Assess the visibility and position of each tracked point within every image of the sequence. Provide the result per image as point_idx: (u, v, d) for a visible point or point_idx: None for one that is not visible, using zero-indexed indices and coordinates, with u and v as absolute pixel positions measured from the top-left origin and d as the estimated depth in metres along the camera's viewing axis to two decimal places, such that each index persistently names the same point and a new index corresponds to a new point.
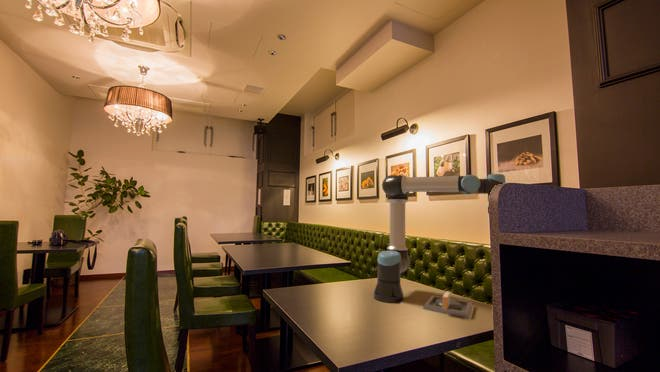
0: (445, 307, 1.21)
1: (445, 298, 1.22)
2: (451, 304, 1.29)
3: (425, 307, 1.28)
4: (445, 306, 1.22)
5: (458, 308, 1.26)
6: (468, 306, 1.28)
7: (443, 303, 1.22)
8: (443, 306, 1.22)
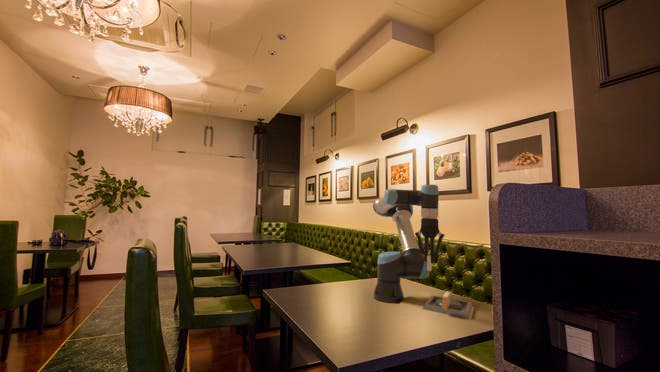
0: (445, 307, 1.21)
1: (445, 298, 1.22)
2: (451, 304, 1.29)
3: (425, 307, 1.28)
4: (445, 306, 1.22)
5: (458, 308, 1.26)
6: (468, 306, 1.28)
7: (443, 303, 1.22)
8: (443, 306, 1.22)
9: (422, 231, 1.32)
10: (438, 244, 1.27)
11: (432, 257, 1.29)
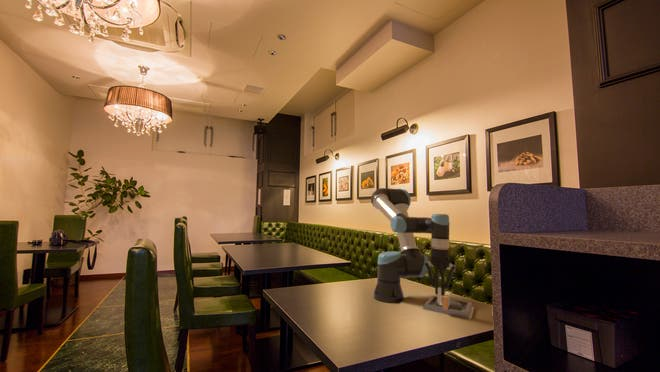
0: (446, 307, 1.21)
1: (446, 298, 1.22)
2: (451, 304, 1.29)
3: (425, 307, 1.28)
4: (446, 306, 1.21)
5: (458, 308, 1.26)
6: (468, 306, 1.28)
7: (444, 303, 1.22)
8: (444, 306, 1.22)
9: (432, 262, 1.28)
10: (449, 276, 1.24)
11: (443, 289, 1.25)
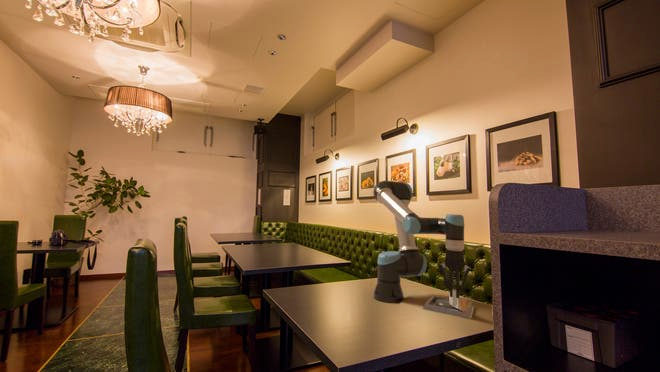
0: (465, 309, 1.20)
1: (465, 300, 1.21)
2: None
3: (425, 307, 1.28)
4: (465, 308, 1.20)
5: None
6: (468, 306, 1.28)
7: (463, 305, 1.20)
8: (463, 308, 1.20)
9: (447, 263, 1.25)
10: (464, 278, 1.21)
11: (457, 292, 1.22)
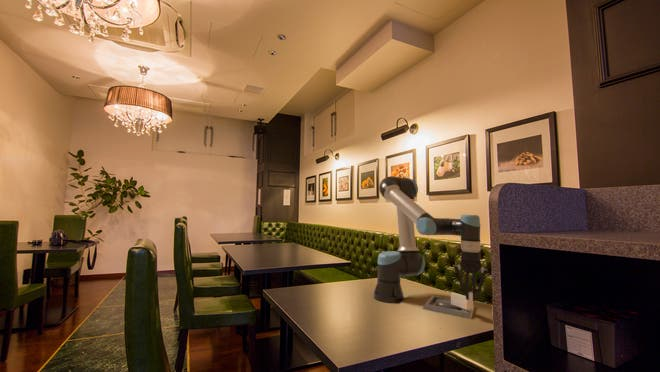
0: None
1: None
2: None
3: (425, 307, 1.28)
4: None
5: None
6: None
7: None
8: None
9: (462, 265, 1.22)
10: (481, 280, 1.18)
11: (474, 294, 1.19)
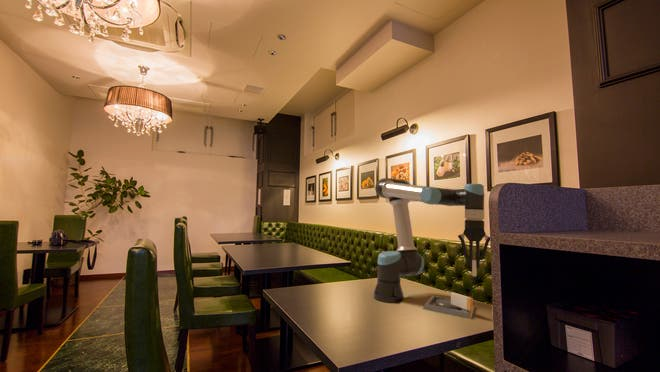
0: (471, 308, 1.22)
1: (471, 299, 1.22)
2: None
3: (425, 307, 1.28)
4: (471, 307, 1.22)
5: None
6: None
7: (470, 305, 1.21)
8: (470, 307, 1.21)
9: (466, 234, 1.23)
10: (485, 248, 1.19)
11: (478, 262, 1.20)
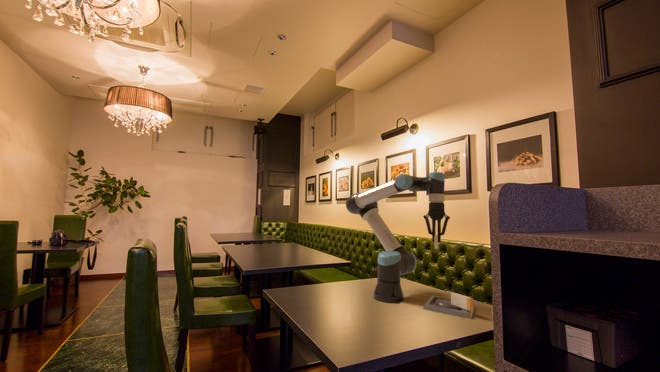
0: (471, 308, 1.22)
1: (471, 299, 1.22)
2: None
3: (425, 307, 1.28)
4: (471, 307, 1.22)
5: None
6: None
7: (470, 305, 1.21)
8: (470, 307, 1.21)
9: (430, 214, 1.47)
10: (444, 225, 1.43)
11: (439, 237, 1.44)
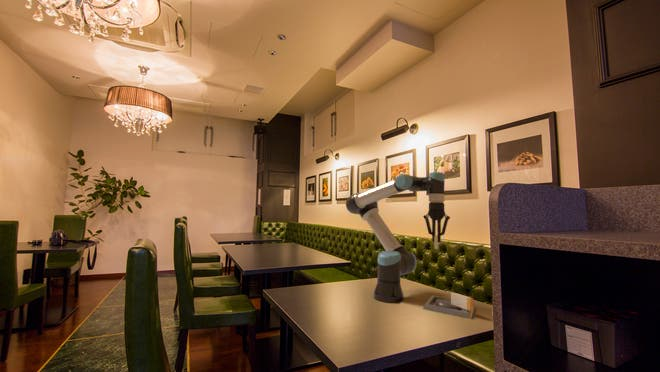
0: (471, 308, 1.22)
1: (471, 299, 1.22)
2: None
3: (425, 307, 1.28)
4: (471, 307, 1.22)
5: None
6: None
7: (470, 305, 1.21)
8: (470, 307, 1.21)
9: (430, 214, 1.47)
10: (444, 225, 1.43)
11: (439, 237, 1.44)
